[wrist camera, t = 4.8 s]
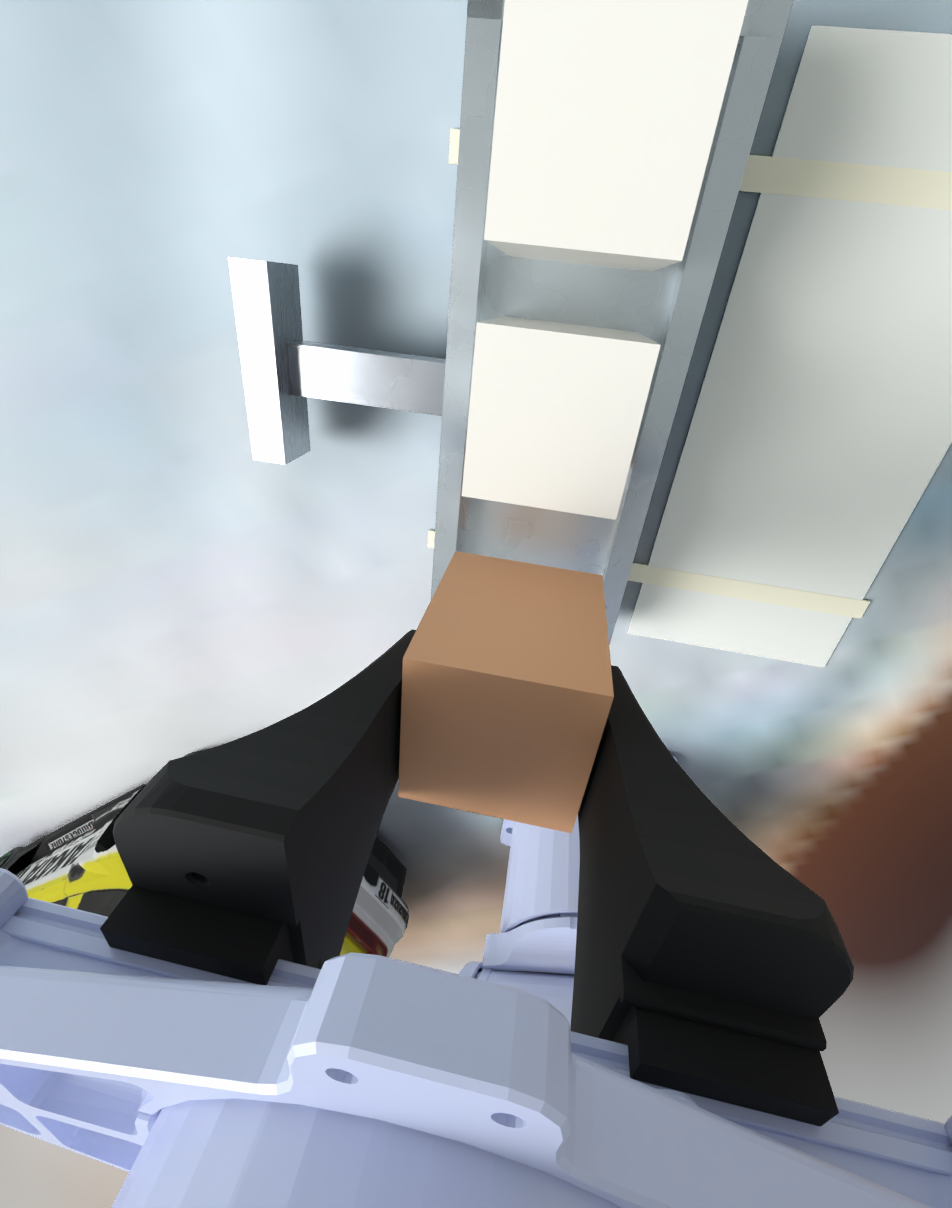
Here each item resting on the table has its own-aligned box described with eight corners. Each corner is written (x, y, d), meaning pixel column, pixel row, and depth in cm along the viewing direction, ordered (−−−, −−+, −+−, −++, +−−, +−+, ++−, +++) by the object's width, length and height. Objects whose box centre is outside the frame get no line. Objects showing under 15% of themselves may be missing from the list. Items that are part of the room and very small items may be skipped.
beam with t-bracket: (600, 620, 23) (603, 663, 20) (305, 569, 24) (271, 604, 21) (753, 47, 14) (798, -16, 11) (260, 13, 15) (189, -51, 12)
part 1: (652, 271, 15) (681, 260, 10) (510, 256, 15) (483, 239, 11) (696, 75, 12) (759, -41, 8) (532, 63, 13) (509, -53, 9)
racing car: (-28, 864, 45) (-205, 1031, 34) (284, 692, 31) (147, 886, 20) (127, 968, 50) (15, 1138, 40) (449, 862, 36) (409, 1082, 26)
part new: (572, 690, 16) (571, 833, 12) (445, 666, 16) (398, 796, 12) (602, 575, 14) (613, 697, 10) (455, 550, 14) (403, 658, 10)
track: (830, 667, 22) (831, 669, 22) (425, 597, 24) (424, 598, 24) (1185, 50, 13) (1189, 48, 12) (458, 4, 14) (457, 2, 14)
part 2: (607, 465, 17) (615, 519, 13) (489, 448, 18) (461, 496, 14) (638, 331, 15) (660, 344, 11) (504, 315, 16) (476, 322, 11)
